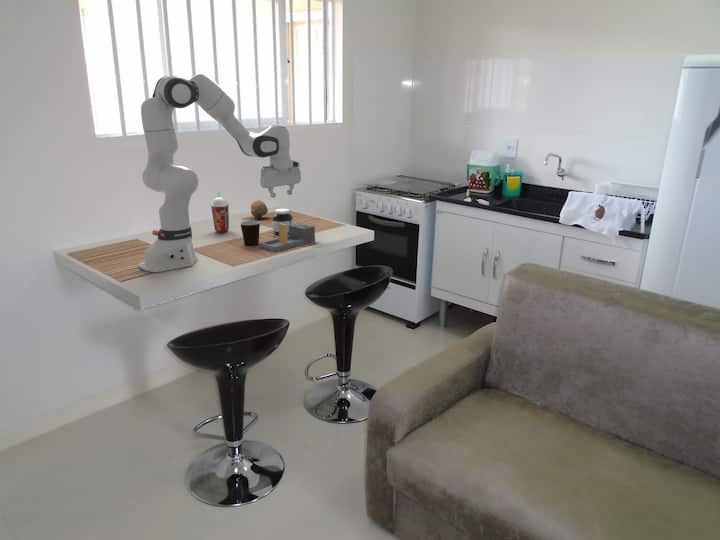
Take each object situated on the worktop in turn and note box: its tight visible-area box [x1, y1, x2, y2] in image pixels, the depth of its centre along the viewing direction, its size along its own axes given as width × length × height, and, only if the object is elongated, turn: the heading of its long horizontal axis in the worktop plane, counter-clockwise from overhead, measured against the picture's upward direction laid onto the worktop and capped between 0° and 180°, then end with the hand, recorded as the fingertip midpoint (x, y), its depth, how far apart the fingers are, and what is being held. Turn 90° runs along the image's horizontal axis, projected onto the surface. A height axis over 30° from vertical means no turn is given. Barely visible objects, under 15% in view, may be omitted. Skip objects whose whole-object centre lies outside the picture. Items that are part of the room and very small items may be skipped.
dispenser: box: [259, 222, 316, 253], centre depth 242 cm, size 24×10×8 cm, turn 138°
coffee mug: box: [240, 220, 261, 247], centre depth 243 cm, size 12×9×10 cm
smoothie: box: [210, 191, 230, 234], centre depth 262 cm, size 8×8×20 cm
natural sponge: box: [250, 199, 269, 219], centre depth 292 cm, size 9×9×10 cm
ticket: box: [278, 223, 289, 244], centre depth 240 cm, size 1×5×9 cm, turn 48°
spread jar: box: [272, 208, 294, 236], centre depth 262 cm, size 12×11×12 cm
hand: (281, 195), depth 235 cm, fingers open, 8 cm apart
